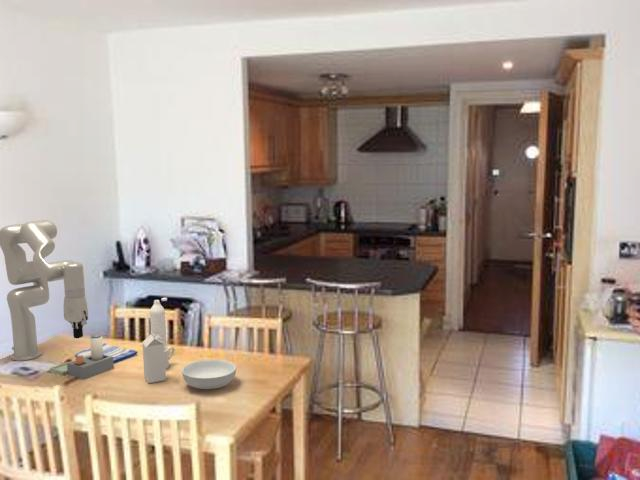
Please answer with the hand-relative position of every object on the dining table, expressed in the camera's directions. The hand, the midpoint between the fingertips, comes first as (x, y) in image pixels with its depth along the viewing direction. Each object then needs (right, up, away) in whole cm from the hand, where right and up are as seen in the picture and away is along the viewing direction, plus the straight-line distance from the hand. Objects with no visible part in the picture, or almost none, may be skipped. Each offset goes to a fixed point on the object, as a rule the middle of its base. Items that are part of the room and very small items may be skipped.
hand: (78, 337), depth 244 cm
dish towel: (+2, -13, +26) cm, 30 cm away
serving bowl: (+55, -17, -9) cm, 59 cm away
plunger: (0, -12, +2) cm, 12 cm away
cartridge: (+5, -13, +9) cm, 17 cm away
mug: (+30, -15, +11) cm, 35 cm away
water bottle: (+26, -12, +29) cm, 41 cm away
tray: (-8, -15, +8) cm, 19 cm away
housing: (+3, -15, +7) cm, 17 cm away
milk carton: (+32, -17, -3) cm, 36 cm away
